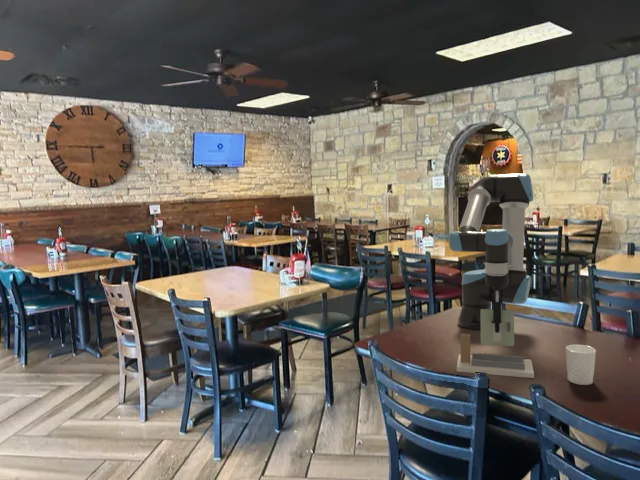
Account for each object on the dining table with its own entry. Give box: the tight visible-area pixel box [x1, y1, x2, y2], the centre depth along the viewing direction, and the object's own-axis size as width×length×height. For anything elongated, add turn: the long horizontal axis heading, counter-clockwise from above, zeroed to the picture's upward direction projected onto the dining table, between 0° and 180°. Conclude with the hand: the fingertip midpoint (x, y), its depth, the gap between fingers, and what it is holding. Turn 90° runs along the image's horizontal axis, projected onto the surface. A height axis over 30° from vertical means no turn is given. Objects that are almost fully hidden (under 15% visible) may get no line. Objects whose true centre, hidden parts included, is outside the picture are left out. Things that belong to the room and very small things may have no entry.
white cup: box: [565, 343, 597, 386], centre depth 146 cm, size 8×8×10 cm
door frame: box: [456, 332, 535, 379], centre depth 158 cm, size 23×12×10 cm, turn 71°
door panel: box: [480, 309, 515, 347], centre depth 171 cm, size 11×4×12 cm, turn 71°
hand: (497, 338), depth 172 cm, fingers closed on door panel, 3 cm apart
